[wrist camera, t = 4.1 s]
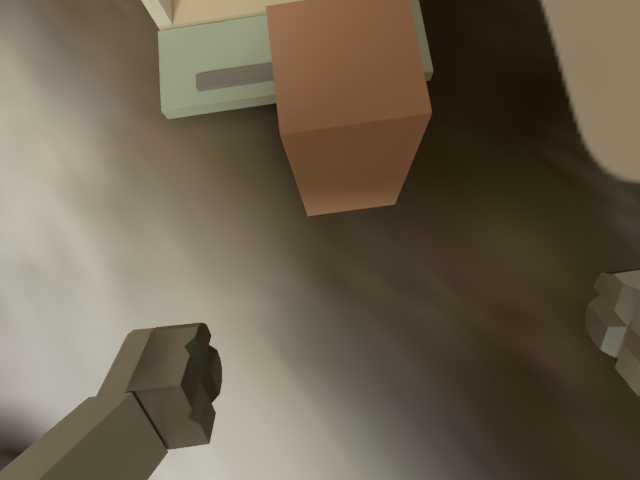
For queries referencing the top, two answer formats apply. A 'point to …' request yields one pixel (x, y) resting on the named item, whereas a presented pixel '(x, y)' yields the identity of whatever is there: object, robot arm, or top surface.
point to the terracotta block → (348, 98)
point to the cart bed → (204, 11)
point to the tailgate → (230, 65)
